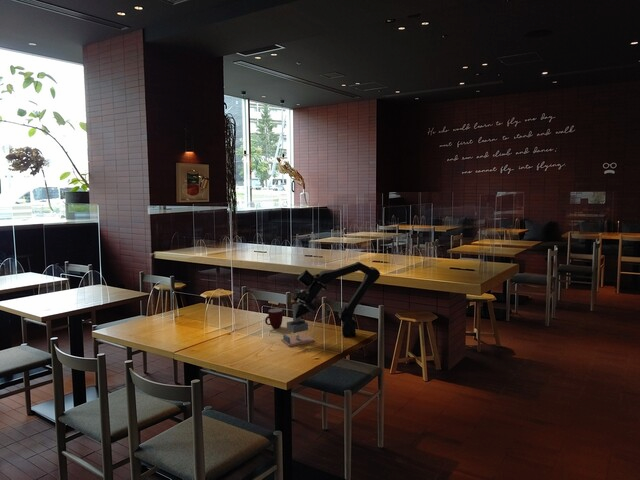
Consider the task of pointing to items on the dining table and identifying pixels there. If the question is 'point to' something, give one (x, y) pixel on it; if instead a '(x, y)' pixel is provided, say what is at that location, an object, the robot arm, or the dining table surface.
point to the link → (297, 321)
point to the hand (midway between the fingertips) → (294, 317)
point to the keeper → (296, 340)
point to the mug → (275, 317)
